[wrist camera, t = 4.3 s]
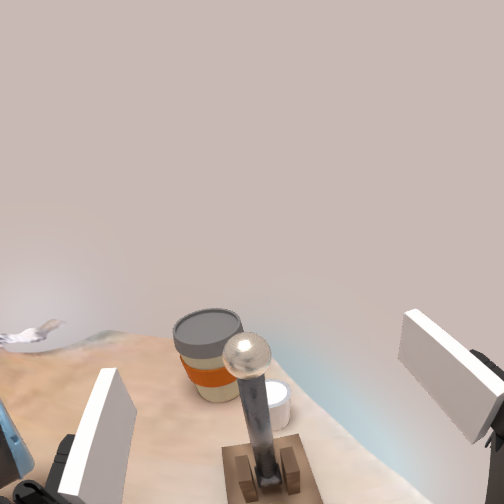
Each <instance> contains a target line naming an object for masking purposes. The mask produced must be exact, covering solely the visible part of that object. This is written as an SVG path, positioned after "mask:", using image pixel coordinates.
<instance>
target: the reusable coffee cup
mask: <svg viewBox="0 0 504 504" xmlns="http://www.w3.org/2000/svg"><path fill="white" fill-rule="evenodd" d="M242 332H244V331H243V327H242V324H241V321H240V318H239V316H238V315H237V314H236V313H235V312H233V311H230V310H227V309H219V308H211V309H204V310H199V311H195V312H193V313H190V314H188V315H186V316H184V317H183V318H181V319H180V320H179V321H178V322H177V323H176V324H175V325H174V328H173V337H174V343H175V347H176V350H177V351H178V352H179V353H180V359H181V362H182V364H183V366H184V368H185V370H186V372H187V374H188V376H189V378H190V379H191V381H192V382H194V383H195V385H196V387H197V389H198V391H199V393H200V395H201V396H202V397H203V398H204V399H205V400H208V401H210V402H217V403H218V402H226V401H229V400H232V399H234V398H235V397H237V396H238V395H239V394H240V393H239V388H238V383H237V378H236V377H235V376H233V375H232V374H231V373H229V372H228V370H227V369H226V367H225V365H224V363H223V358H222V354H223V349H224V346H225V344H226V343H227V341H228V340H229V339H230V338H231V337H233V336H234V335H236V334H239V333H242Z"/></svg>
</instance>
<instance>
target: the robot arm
mask: <svg viewBox="0 0 504 504" xmlns="http://www.w3.org/2000/svg"><path fill="white" fill-rule="evenodd" d="M398 359H399V360H400V362H401V363H402V364H403V365H404V366H405V367H406V368H407V369H408V370H409V372H410V373H411V374H412V375H413V376H414V377H415V378H416V380H417V381H418V382H419V383H420V384H421V385H422V386H423V388H424V389H425V390H426V391H427V392H428V393H429V394H430V396H431V397H432V398H433V399H434V400H435V401H436V403H437V404H438V405H439V406H440V407H441V408H442V410H443V411H444V412H445V413H446V414H447V415H448V417H449V418H450V419H451V420H452V421H453V423H454V424H455V425H456V426H457V427H458V429H459V430H460V431H461V432H462V433H463V435H464V436H465V437H466V438H467V439H468V441H469V442H470V443H471V444H474V443H475V442H477V441H478V440H480V439H481V438H482V437H484V436H485V435H486V433H487V431H488V429H489V428H490V426H491V427H492V429H493V430H494V431H493V432H492V434H491V436H490V437H489V439H488V441H487V442H486V444H485V448H486V447H487V446H488V445H489V443H490V442H491V446H490V448H491V457H490V469H489V479H488V487H487V495H486V501H485V504H504V371H502V370H501V369H500V368H499V367H498V366H496V365H495V364H494V363H493V362H492V361H490V359H488V358H487V357H486V356H485V355H484V354H482V353H480V352H478V351H475V350H473V349H472V350H470V351H468V350H467V349H466V348H464V347H463V346H462V345H461V344H459V343H458V342H457V341H456V340H455V339H454V338H452V337H451V336H450V335H449V334H447V333H446V332H445V331H444V330H443V329H441V328H440V327H439V326H438V325H436V324H435V323H434V322H433V321H431V320H430V319H429V318H428V317H426V316H425V315H424V314H423V313H421V312H420V311H419V310H418V309H414V310H411V311H407V312H405V313H404V317H403V325H402V333H401V340H400V347H399V354H398ZM136 415H137V410H136V408H135V406H134V404H133V402H132V400H131V398H130V396H129V394H128V391H127V389H126V387H125V385H124V383H123V381H122V379H121V377H120V374H119V372H118V370H117V368H105V369H101V371H100V373H99V376H98V378H97V381H96V383H95V386H94V388H93V391H92V393H91V396H90V398H89V401H88V403H87V406H86V408H85V411H84V414H83V416H82V419H81V422H80V425H79V427H78V430H77V433H76V435H72V434H67V435H66V437H65V438H64V439H63V440H62V441H61V442H60V445H59V447H58V450H57V455H56V456H55V458H54V463H53V464H52V467H51V470H50V473H49V476H48V479H47V482H46V485H45V488H43V487H42V486H41V485H40V484H39V483H37V482H35V481H33V480H25V481H22V482H20V483H19V484H17V486H16V487H15V489H14V492H13V501H14V502H15V503H12V502H11V501H9V500H8V499H7V498H5V497H4V496H0V504H122V496H123V489H124V482H125V476H126V469H127V463H128V457H129V452H130V446H131V440H132V435H133V430H134V425H135V420H136ZM34 465H35V463H34V459H33V457H32V455H31V453H30V451H29V450H28V448H27V446H26V444H25V442H24V441H23V439H22V437H21V435H20V434H19V432H18V430H17V428H16V426H15V425H14V423H13V421H12V419H11V417H10V415H9V414H8V412H7V410H6V408H5V406H4V404H3V402H2V400H1V399H0V489H1V488H3V487H5V486H7V485H9V484H10V483H12V482H14V481H16V480H18V479H22V478H23V476H25V475H26V474H27V473H29V472H30V471H32V470H33V468H34Z"/></svg>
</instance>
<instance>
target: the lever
mask: <svg viewBox="0 0 504 504" xmlns="http://www.w3.org/2000/svg"><path fill="white" fill-rule="evenodd" d="M222 358H223V363H224V365H225V367H226V369H227V370H228V372H229V373H231V374H232V375H233V376H235V377H236V378H237V383H238V388H239V393H240V397H241V402H242V406H243V411H244V416H245V420H246V424H247V429H248V433H249V438H250V442H251V446H252V450H253V455H254V459H255V463H256V466H254V469H255V474H256V479H257V483H258V487H259V488H262V487H268V486H273V485H278V484H283V481H282V476H281V472H280V468H279V464H278V462H276V457H275V450H274V443H273V435H272V428H271V421H270V413H269V406H268V399H267V391H266V384H265V377H264V372H265V371H266V370H267V369H268V367H269V365H270V362H271V350H270V347H269V345H268V343H267V342H266V340H265V339H264V338H262V337H261V336H259V335H258V334H255V333H251V332H242V333H239V334H236V335H234V336H233V337H231V338H230V339H229V340H228V341H227V343H226V344H225V346H224V349H223V354H222Z"/></svg>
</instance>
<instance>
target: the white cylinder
mask: <svg viewBox="0 0 504 504" xmlns="http://www.w3.org/2000/svg"><path fill="white" fill-rule="evenodd" d="M265 384H266V391H267V399H268V406H269V413H270V421H271V428H272V431H276V430H280V429H282V428H284V427H285V426H286V425H287V424H288V422H289V417H290V403H291V389H290V386H289V385H288V384H287V383H285V382H284V381H281V380H278V379H267V380H265Z"/></svg>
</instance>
